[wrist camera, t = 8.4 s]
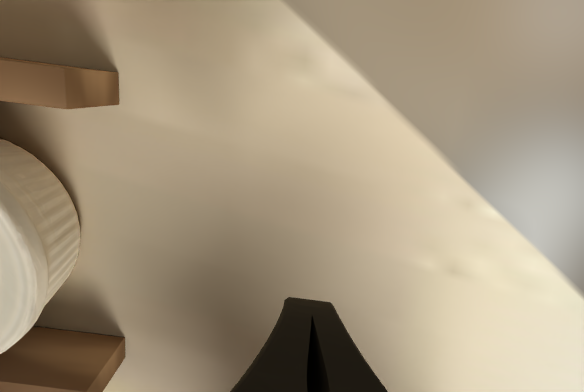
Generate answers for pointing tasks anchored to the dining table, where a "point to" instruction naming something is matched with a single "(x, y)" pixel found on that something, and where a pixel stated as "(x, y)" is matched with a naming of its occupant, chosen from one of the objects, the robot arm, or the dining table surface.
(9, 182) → the ramekin
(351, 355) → the robot arm
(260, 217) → the dining table surface
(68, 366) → the shallow wooden tray
